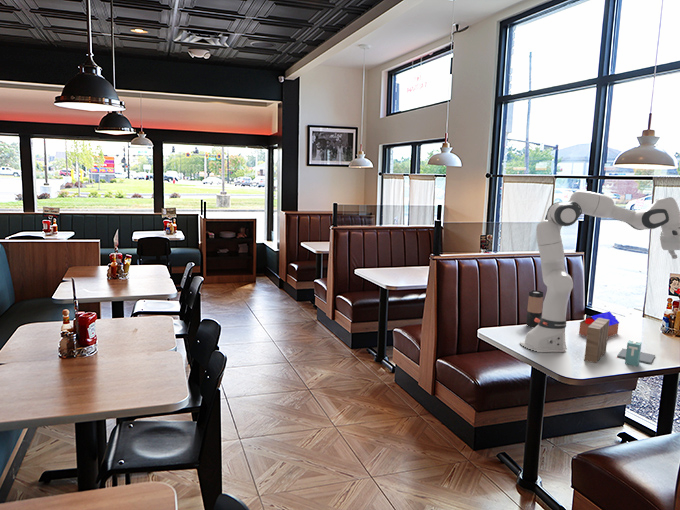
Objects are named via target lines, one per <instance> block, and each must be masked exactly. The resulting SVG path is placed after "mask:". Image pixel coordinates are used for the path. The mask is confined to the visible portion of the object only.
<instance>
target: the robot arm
mask: <svg viewBox="0 0 680 510" xmlns="http://www.w3.org/2000/svg"><path fill="white" fill-rule="evenodd" d="M678 205H679V204H678V203H677V200H676V199H675V198H674V197H672V196H671V197H669V196H668V197H660V198H656V199H655V201H654V202H653V203H652V204H651V205H650V206H649V207H647V208H646V209H634V210H631V209H628V208H625V207H622V206H618V205H616V204H615V201H614V200H613V198H612V197H610V196H607V195H605V194H602V193H598V192H594V191H588V190H576V191H575V192H573V193H572V194H571V196H570V198H569V200H568V201H567V202H563V201H562V202H561V201H558V202H554V203H552V204H551V205H550V206H549V207H548V209H547V211H546V215H545V216H544V217H545V218H544V220H541V221H540V222H539V223H537V224H536V231H535V232H536V241H537V247H538V251H539V252H538V253H539V257H540V264H541V265H540V266H541V267H540V268H541V274H542V275H541V276H542V281H543V282H542V283H543V284H544V286H546V292H545V295H544V296H545V297H544V299H543V303H542V314H541V318H540V319H538V318H535V322H537V323H538V325H537V326H536V327H535V328H532V329H531V330H530V331H528V332H527V333H526V335H525V340H522V341H520V342H519V345H520V344H521V345H522V346H521V345H520V346H521V347H523V346H524V347H523V348H525V347H526V348H525V349H527V348H528V349H527V350H529V349H531V350H530V351H532V350H534V351H533V352H535V351H537V352H536V353H562V352H564V353H565V352H567V351H566V350H567V344H566V327H567V319H566V318H567V310H568V309H567V308H568V303H569V299H570V296H571V292H572V290H573V288H574V281H573V278H572V277H571V275H570V274H569V273H567V272H566V265H565V257H566V255H565V251H564V250H565V249H564V245H563V240H562V235H561V229H562V227H570V226H572V225H574V224H575V223H576V222H577V221H578V220H579V218H580V217H581V215H582V214H583V215H588V216H590V217H595V218H602V219H613V220H617V221H619V222H623V223H625V224H627V225H628V226H630V227H631V228H632V229H634V230H637V231H643V230H654V229H657V228H659V227H660V228H661V230H662V231H660V232H661V233H660V236H659V239H660V246H661V249H662V250H663V251H667V252H668V254H670V256H671V259H672V260H675V259H678V255H677V254H676V253H675V251H680V208H679V206H678Z"/></svg>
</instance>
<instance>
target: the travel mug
mask: <svg viewBox="0 0 680 510" xmlns="http://www.w3.org/2000/svg"><path fill="white" fill-rule="evenodd" d="M527 300H528V301H527V310H526V311H527V312H526V326H527V325H528V326H530V327H529V328H531V327H533V328H535V327H536V326H537V325H538V323H537V322H535V318H538V319H540V318H541V317H542V310H543V301H544V292H543V291H541V290H534V289H533V290H531V291H530V290H529V291H528V299H527ZM528 326H527V327H528ZM533 328H532V329H533Z"/></svg>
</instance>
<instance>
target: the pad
mask: <svg viewBox="0 0 680 510" xmlns="http://www.w3.org/2000/svg"><path fill="white" fill-rule="evenodd" d="M626 351H627V348H622V349H621V350H620V352H619V353H618V354H617V356H616V358H620V359H624V360H625V359H626ZM655 357H656V354H653V353H647V352H640V360H639V363H643V364H648V365H652V363H653V362H654V360H655Z"/></svg>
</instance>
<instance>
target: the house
mask: <svg viewBox="0 0 680 510" xmlns="http://www.w3.org/2000/svg"><path fill="white" fill-rule="evenodd" d="M597 318H603V319H609V329H608V338H609V336H610V337H612V336H615V334H616V335H618V334H619V333H618V331H619V324H620V321H618V319H617V318H616V317H615V316H614V315H613V314H612V312H610V311H606V312H602V313H598V314H594V315H591V316H589V317H587V318H585V319H583V320H581V321H580V322H579V332H578V335H580V334H581V336H584V337H587V330H588V326H590V325H591V324H592V323H593V322H594V321H595V320H596V319H597Z"/></svg>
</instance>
